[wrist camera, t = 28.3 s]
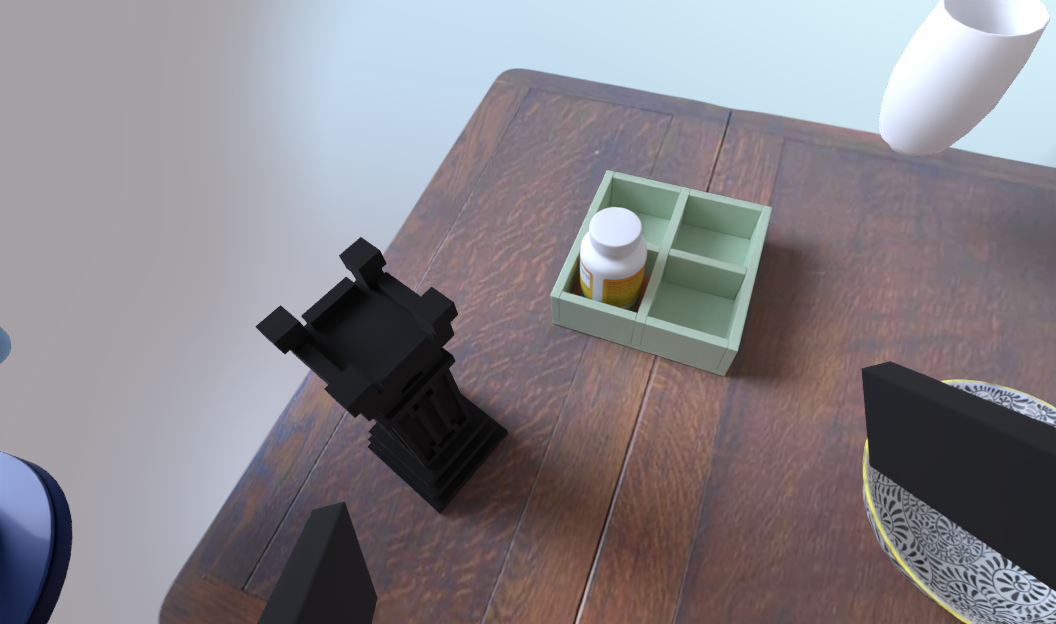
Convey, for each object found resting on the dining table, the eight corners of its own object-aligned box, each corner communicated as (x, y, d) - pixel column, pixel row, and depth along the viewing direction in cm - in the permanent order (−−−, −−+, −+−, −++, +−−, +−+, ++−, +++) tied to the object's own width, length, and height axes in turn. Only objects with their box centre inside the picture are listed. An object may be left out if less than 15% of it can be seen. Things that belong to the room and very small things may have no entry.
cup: (869, 185, 55) (1005, -32, 38) (914, 238, 52) (1088, 25, 34) (802, 203, 55) (908, -8, 37) (843, 258, 51) (982, 52, 33)
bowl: (896, 380, 44) (949, 334, 38) (1116, 535, 38) (1227, 512, 31) (774, 517, 40) (811, 492, 33) (1000, 724, 33) (1101, 742, 26)
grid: (552, 323, 50) (549, 295, 46) (605, 202, 57) (607, 169, 53) (724, 376, 46) (738, 351, 42) (758, 239, 53) (772, 207, 49)
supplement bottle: (649, 286, 50) (663, 214, 42) (622, 331, 48) (632, 264, 40) (597, 263, 52) (600, 190, 44) (569, 305, 50) (567, 237, 41)
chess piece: (439, 513, 42) (345, 420, 25) (370, 449, 45) (244, 328, 28) (507, 433, 45) (464, 301, 28) (438, 378, 48) (361, 229, 31)
